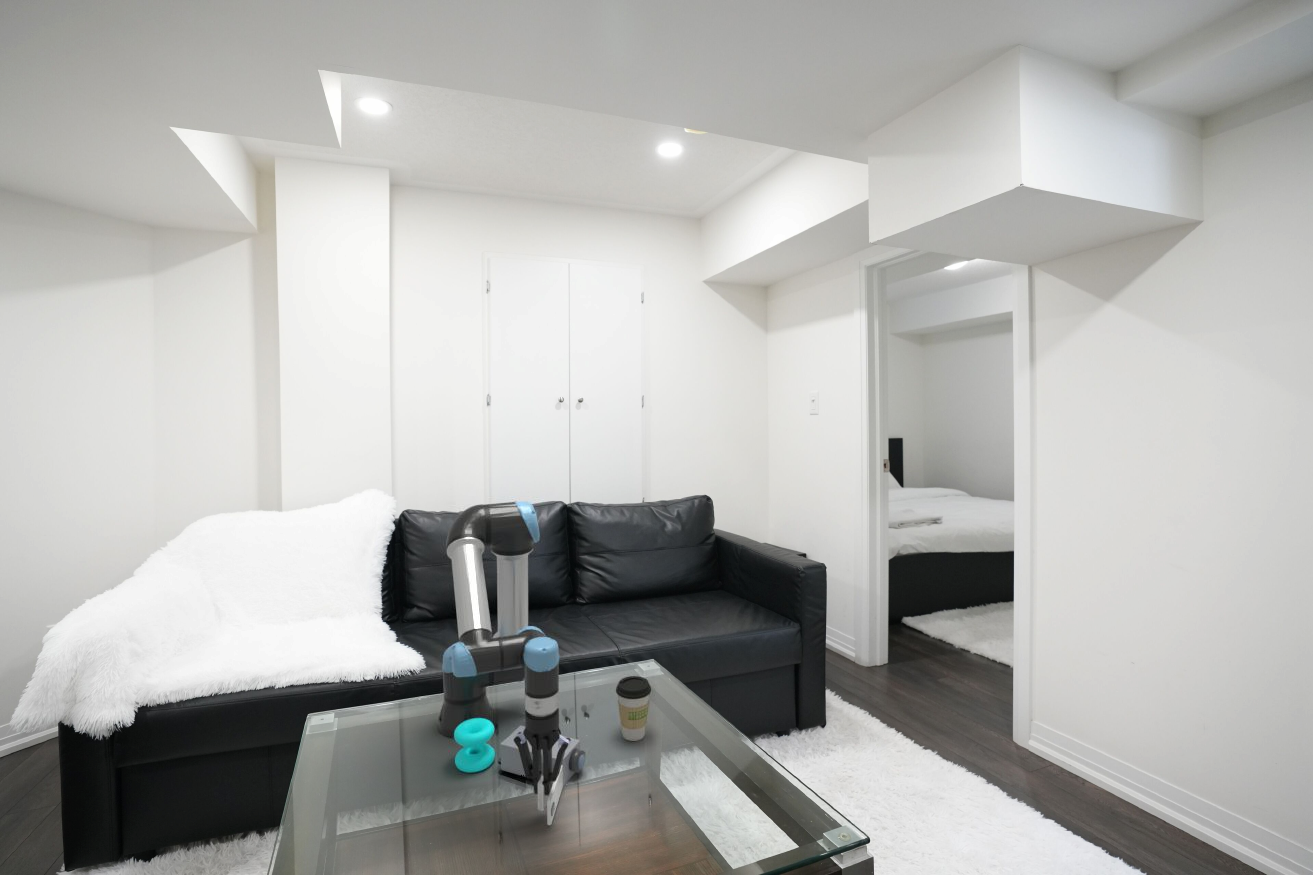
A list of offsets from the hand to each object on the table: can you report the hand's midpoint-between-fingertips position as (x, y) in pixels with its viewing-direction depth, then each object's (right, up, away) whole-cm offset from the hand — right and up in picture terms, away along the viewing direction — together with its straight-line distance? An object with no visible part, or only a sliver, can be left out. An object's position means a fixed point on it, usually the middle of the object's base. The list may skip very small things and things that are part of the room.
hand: (542, 806), depth 145 cm
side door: (+2, -2, +4) cm, 5 cm away
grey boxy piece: (-3, -1, +17) cm, 18 cm away
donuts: (-21, -1, +20) cm, 29 cm away
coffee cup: (+20, +1, +33) cm, 38 cm away
